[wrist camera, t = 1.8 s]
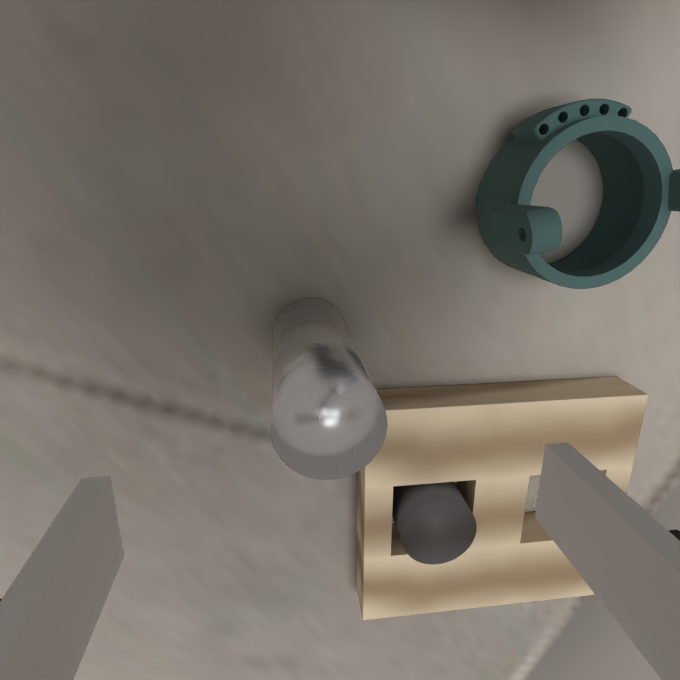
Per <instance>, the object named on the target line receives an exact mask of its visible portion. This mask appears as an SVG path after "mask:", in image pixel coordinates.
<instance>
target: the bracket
mask: <svg viewBox="0 0 680 680" xmlns="http://www.w3.org/2000/svg"><path fill="white" fill-rule="evenodd" d="M630 113H631V108H630V107H629V106H626V105H624V104H622V103H619V102H616V101H612V100H608V99H587V100H581V101H577V102H573V103H569V104H565V105H561V106H557V107H553V108H550V109H547V110H544V111H542V112H539V113H537V114H535V115H533V116H532V117H530V118H528V119H526V120H525V121H524V122H523V123H521V124H520V125H519V126H518V127H516V128H515V129H514V130H513V136H514V137H515V139H513V140H512V141H510V142H509V143H508V144H507V145H506V146H505V147H503V148H502V149H501V150H500V151H499V152H498V154H497V155H496V156H495V157H494V159H493V160H492V161H491V163H490V164H489V166H488V168H487V170H486V171H485V173H484V176H483V178H482V181H481V183H480V186H479V190H478V195H477V209H478V222H479V232H480V234H481V237H482V239H483V241H484V243H485V245H486V246H487V248H488V249H489V251H490V252H491V253H492V254H493V255H494V256H495V257H496V258H497V259H498V260H499V261H501V262H503V263H504V264H506V265H507V266H510V267H512V268H515V269H518V270H520V271H523V272H525V273H528V274H531V275H533V276H536V277H538V278H541V279H544V280H546V281H549V282H552V283H554V284H557V285H560V286H564V287H568V288H575V289H587V288H595V287H599V286H602V285H606V284H609V283H611V282H613V281H615V280H617V279H620V278H621V277H623V276H624V275H626V274H627V273H629V272H630V271H632V270H633V269H634V268H635V267H636V266H638V265H639V264H640V263H641V262H642V261H643V260H644V259H645V258H646V257H647V255H648V254H649V253H650V252H651V251H652V250H653V248H654V247H655V245H656V244H657V242H658V241H659V239H660V237H661V235H662V233H663V231H664V229H665V227H666V225H667V222H668V219H669V216H670V213H671V211H680V169H678V170H673V169H672V165H671V161H670V158H669V155H668V153H667V151H666V149H665V147H664V145H663V144H662V143H661V141H660V140H659V138H658V137H657V136H656V135H655V134H654V133H653V132H652V131H651V130H650V129H648V128H647V127H646V126H644V125H642V124H641V123H639V122H637V121H635V120H632V119H629V118H627V117H628V116H629V115H630ZM575 139H576V140H578V141H580V142H581V143H582V144H584V145H585V146H586V147H587V148H588V149H589V150H590V152H591V153H592V154H593V155H594V157H595V159H596V161H597V163H598V165H599V167H600V170H601V174H602V178H603V189H604V191H603V202H602V206H601V210H600V214H599V217H598V219H597V221H596V224H595V226H594V228H593V229H592V231H591V232H590V234H589V236H588V237H587V238H586V239H585V240H584V242H583V243H582V244H581V245H580V246H579V247H578V248H577V249H576V250H574V251H573V252H572V253H571V254H569V255H568V256H566V257H564V258H563V259H561V260H559V261H556V262H554V263H551V264H548V263H547V262H546V261H545V260H544V259H543V258H542V257H541V255H540V254H539V253H543V252H548V251H552V250H555V249H556V248H558V247H559V245H560V243H561V239H562V224H561V220H560V217H559V214H558V212H557V211H556V210H554V209H552V208H549V207H541V206H531V205H530V201H531V197H532V193H533V189H534V187H535V185H536V182H537V180H538V178H539V176H540V174H541V172H542V171H543V169H544V168H545V166H546V165H547V163H548V162H549V161H550V160H551V159H552V158H553V156H554V155H555V154H556V153H557V152H558V151H559V150H561V149H562V148H563V147H564V146H566V145H567V144H568V143H570V142H571V141H573V140H575Z"/></svg>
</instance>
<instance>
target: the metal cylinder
mask: <svg viewBox="0 0 680 680" xmlns="http://www.w3.org/2000/svg"><path fill="white" fill-rule="evenodd" d="M387 427H388V422H387V414H386V411H385V408H384V405H383V403H382V401H381V399H380V397H379V395H378V392H377V390H376V388H375V386H374V384H373V382H372V380H371V377H370V375H369V373H368V371H367V369H366V367H365V365H364V363H363V360H362V358H361V356H360V354H359V352H358V350H357V348H356V345H355V343H354V341H353V339H352V337H351V335H350V333H349V331H348V328H347V326H346V324H345V322H344V320H343V318H342V316H341V314H340V313H339V311H338V310H337V309H336V308H335V307H334V306H332V305H331V304H329V303H328V302H326V301H323V300H320V299H315V298H306V299H301V300H298V301H295V302H293V303H291V304H290V305H288V306H287V307H286V308H285V309H283V311H282V312H281V313H280V315H279V316H278V318H277V320H276V323H275V326H274V345H273V384H272V422H271V435H272V441H273V445H274V448H275V450H276V452H277V454H278V455H279V457H280V458H281V459H282V461H283V462H284V463H285V464H286V465H287V466H288V467H290V468H291V469H292V470H294V471H295V472H297V473H299V474H301V475H304V476H307V477H310V478H314V479H323V480H328V479H338V478H342V477H346V476H349V475H351V474H353V473H355V472H357V471H359V470H361V469H362V468H364V467H365V466H366V465H368V464H369V463H370V462H371V461H372V460H373V459H374V458H375V457H376V455H377V454H378V453H379V451H380V449H381V448H382V446H383V444H384V441H385V438H386V434H387Z"/></svg>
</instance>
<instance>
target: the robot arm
mask: <svg viewBox="0 0 680 680" xmlns="http://www.w3.org/2000/svg"><path fill="white" fill-rule="evenodd" d="M535 518H536V519H537V520H538V522H539V523H540V524H541V526H542V527H543V528H544V529H545V531H546V532H547V533H548V534H549V536H550V537H551V538H552V540H553V541H554V542H555V543H556V545H557V546H558V547H559V549H560V550H561V551H562V552H563V554H564V555H565V556H566V558H567V559H568V560H569V561H570V563H571V564H572V565H573V567H574V568H575V569H576V570H577V572H578V573H579V574H580V576H581V577H582V578H583V579H584V581H585V582H586V583H587V585H588V586H589V587H590V588H591V590H592V591H593V592H594V593H595V595H596V596H597V597H598V598H599V600H600V601H601V602H602V604H603V605H604V606H605V608H606V609H607V610H608V611H609V613H610V614H611V615H612V617H613V618H614V619H615V620H616V622H617V623H618V624H619V625H620V627H621V628H622V629H623V631H624V632H625V633H626V635H627V636H628V637H629V638H630V640H631V641H632V642H633V644H634V645H635V646H636V647H637V649H638V650H639V651H640V652H641V654H642V655H643V656H644V657H645V659H646V660H647V661H648V663H649V664H650V665H651V667H652V668H653V669H654V670H655V672H656V673H657V674H658V676H659V677H660V678H661V679H662V680H680V531H678V530H669V531H668V530H667V529H666V528H665V527H663V526H662V525H661V524H660V523H659V522H658V521H657V520H655V519H654V518H653V517H652V516H651V515H650V514H649V513H648V512H646V511H645V510H644V509H643V508H642V507H641V506H640V505H638V504H637V503H636V502H635V501H634V500H633V499H632V498H631V497H629V496H628V495H627V494H626V493H625V492H624V491H623V490H621V489H620V488H619V487H618V486H617V485H616V484H615V483H614V482H612V481H611V480H610V479H609V478H608V477H607V476H606V475H604V474H603V473H602V472H601V471H600V470H599V469H598V468H597V467H595V466H594V465H593V464H592V463H591V462H590V461H589V460H587V459H586V458H585V457H584V456H583V455H582V454H581V453H580V452H578V451H577V450H576V449H575V448H574V447H573V446H572V445H570V444H569V443H568V442H564V443H551V444H545V449H544V456H543V463H542V470H541V477H540V484H539V491H538V498H537V505H536V512H535ZM123 557H124V551H123V546H122V540H121V534H120V529H119V523H118V517H117V512H116V506H115V501H114V495H113V489H112V484H111V478H110V476H105V477H91V478H81V480H80V482H79V483H78V485H77V486H76V488H75V489H74V491H73V492H72V494H71V495H70V497H69V498H68V500H67V501H66V503H65V504H64V506H63V507H62V509H61V510H60V512H59V513H58V515H57V516H56V518H55V519H54V521H53V522H52V524H51V525H50V527H49V528H48V530H47V532H46V533H45V535H44V536H43V538H42V539H41V541H40V542H39V544H38V545H37V547H36V548H35V550H34V551H33V553H32V554H31V556H30V557H29V559H28V560H27V562H26V563H25V565H24V566H23V568H22V569H21V571H20V572H19V574H18V575H17V577H16V579H15V580H14V582H13V583H12V585H11V586H10V588H9V589H8V591H7V592H6V594H5V595H4V597H3V598H2V599H0V680H73V679H74V677H75V674H76V672H77V669H78V667H79V664H80V662H81V659H82V657H83V655H84V652H85V650H86V647H87V645H88V642H89V640H90V637H91V635H92V633H93V630H94V628H95V625H96V623H97V620H98V618H99V615H100V613H101V610H102V608H103V606H104V603H105V601H106V598H107V596H108V593H109V591H110V588H111V586H112V584H113V581H114V579H115V576H116V574H117V571H118V569H119V566H120V564H121V562H122V559H123Z"/></svg>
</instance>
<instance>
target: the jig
mask: <svg viewBox="0 0 680 680" xmlns="http://www.w3.org/2000/svg"><path fill="white" fill-rule="evenodd" d="M377 392H378V395H379V397H380V399H381V401H382V403H383V405H384V408H385V411H386V414H387V422H388V427H387V434H386V438H385V441H384V444H383V446H382V448H381V449H380V451H379V453H378V454H377V455H376V457H375V458H374V459H373V460H372V461H371V462H370V463H369V464H368V465H366V466H365V467H364V468H362V469H361V470H359V471H357V560H356V587H357V592H358V597H359V602H360V607H361V613H362V618H363V620H369V619H378V618H387V617H396V616H405V615H414V614H423V613H432V612H441V611H450V610H459V609H468V608H477V607H486V606H495V605H504V604H513V603H522V602H531V601H540V600H549V599H558V598H567V597H576V596H585V595H594V594H595V593H594V592H593V591H592V590H591V588H590V587H589V586H588V585H587V583H586V582H585V581H584V579H583V578H582V577H581V576H580V574H579V573H578V572H577V570H576V569H575V568H574V567H573V565H572V564H571V563H570V561H569V560H568V559H567V558H566V556H565V555H564V554H563V552H562V551H561V550H560V549H559V547H558V546H557V545H556V543H555V542H554V541H553V540H552V538H551V537H550V536H549V534H548V533H547V532H546V531H545V529H544V528H543V527H542V526H541V524H540V523H539V522H538V520H537V519H536V518H535V512H525V505H526V498H527V491H528V484H529V476H531V475H541V470H542V463H543V456H544V449H545V444H551V443H564V442H568V443H569V444H570V445H572V446H573V447H574V448H575V449H576V450H577V451H578V452H580V453H581V454H582V455H583V456H584V457H585V458H586V459H587V460H589V461H590V462H591V463H592V464H593V465H594V466H595V467H597V468H598V469H599V470H600V471H601V472H602V473H603V474H604V475H606V476H607V477H608V478H609V479H610V480H611V481H612V482H614V483H615V484H616V485H617V486H618V487H619V488H620V489H621V490H623V491H624V492H625V493H626V494H627V489H628V485H629V480H630V476H631V471H632V467H633V462H634V457H635V453H636V448H637V444H638V439H639V435H640V430H641V425H642V421H643V416H644V412H645V407H646V403H647V398H648V394H646V393H644V392H643V391H641V390H639V389H637V388H636V387H634V386H632V385H631V384H629V383H627V382H625V381H624V380H622V379H620V378H619V377H617V376H614V377H596V378H578V379H559V380H541V381H523V382H505V383H487V384H469V385H450V386H432V387H414V388H396V389H378V390H377ZM455 481H457V486H456V484H455ZM524 512H525V513H524ZM392 515H393V518H394V521H395V524H392Z"/></svg>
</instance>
